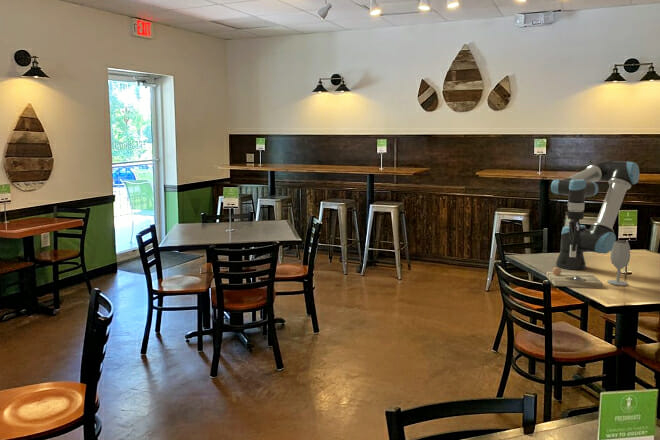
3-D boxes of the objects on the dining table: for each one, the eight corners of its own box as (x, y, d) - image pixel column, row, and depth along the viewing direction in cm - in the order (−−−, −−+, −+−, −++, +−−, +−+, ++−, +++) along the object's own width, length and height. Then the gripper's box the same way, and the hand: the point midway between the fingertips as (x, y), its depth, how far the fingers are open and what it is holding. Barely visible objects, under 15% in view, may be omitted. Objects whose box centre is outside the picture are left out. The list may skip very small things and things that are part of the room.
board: (546, 276, 297) (546, 271, 297) (591, 278, 294) (591, 273, 294) (554, 285, 280) (554, 280, 279) (602, 288, 276) (602, 283, 276)
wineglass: (631, 286, 281) (635, 243, 278) (615, 286, 280) (619, 244, 276) (619, 281, 290) (623, 240, 286) (603, 281, 288) (607, 240, 285)
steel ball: (571, 284, 282) (571, 279, 285) (579, 287, 282) (578, 282, 285) (575, 278, 279) (575, 273, 282) (583, 282, 279) (583, 276, 282)
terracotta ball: (551, 273, 293) (552, 266, 292) (559, 274, 292) (560, 266, 291) (553, 275, 289) (553, 267, 288) (561, 276, 288) (562, 268, 287)
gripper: (564, 208, 294) (561, 253, 298) (571, 212, 282) (568, 259, 286) (580, 208, 293) (577, 253, 297) (587, 212, 280) (584, 260, 285)
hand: (572, 256), depth 292 cm, fingers closed
